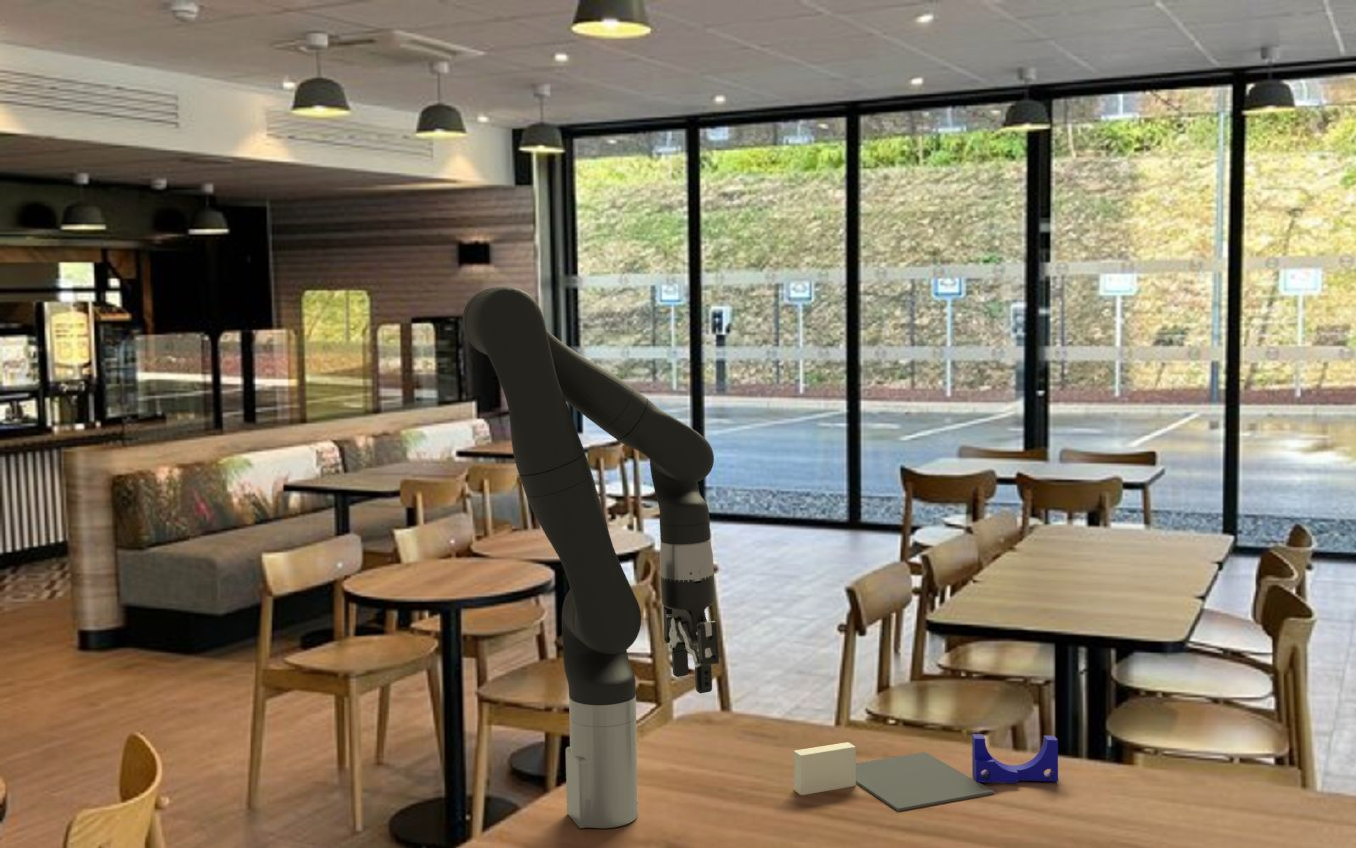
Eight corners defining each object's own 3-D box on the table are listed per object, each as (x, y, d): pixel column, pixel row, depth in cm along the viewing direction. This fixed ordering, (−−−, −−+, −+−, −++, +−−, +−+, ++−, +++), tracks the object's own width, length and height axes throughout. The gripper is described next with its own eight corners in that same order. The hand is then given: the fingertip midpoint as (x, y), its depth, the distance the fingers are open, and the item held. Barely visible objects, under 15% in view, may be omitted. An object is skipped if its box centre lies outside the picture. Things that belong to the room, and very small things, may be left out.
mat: (897, 811, 184) (897, 808, 184) (835, 769, 201) (834, 766, 201) (993, 793, 190) (993, 791, 190) (925, 754, 207) (925, 752, 206)
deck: (800, 796, 190) (800, 755, 190) (793, 790, 193) (793, 750, 192) (855, 786, 194) (855, 746, 193) (848, 781, 196) (848, 742, 195)
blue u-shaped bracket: (976, 782, 193) (975, 740, 193) (972, 774, 198) (972, 734, 198) (1060, 784, 192) (1059, 742, 192) (1054, 776, 197) (1054, 736, 197)
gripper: (644, 565, 190) (649, 675, 192) (681, 585, 177) (687, 702, 179) (691, 559, 193) (697, 667, 195) (732, 578, 180) (737, 693, 182)
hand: (692, 683), depth 187 cm, fingers open, 8 cm apart
